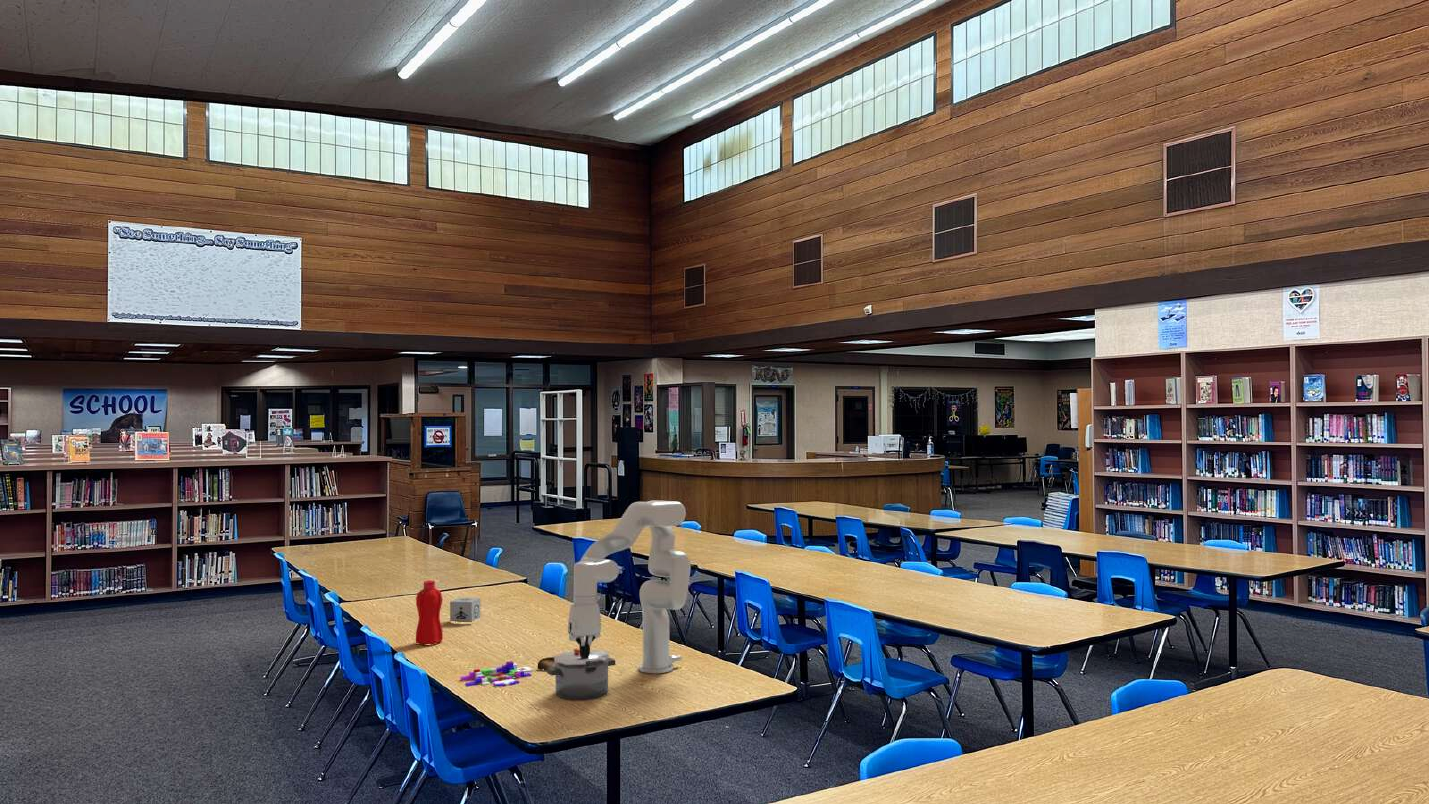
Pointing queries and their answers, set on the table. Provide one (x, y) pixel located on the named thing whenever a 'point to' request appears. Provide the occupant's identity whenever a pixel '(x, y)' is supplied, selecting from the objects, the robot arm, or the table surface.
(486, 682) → the building block set
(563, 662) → the lid
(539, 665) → the sunglasses case
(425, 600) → the water bottle
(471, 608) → the icon cube
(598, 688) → the pot
